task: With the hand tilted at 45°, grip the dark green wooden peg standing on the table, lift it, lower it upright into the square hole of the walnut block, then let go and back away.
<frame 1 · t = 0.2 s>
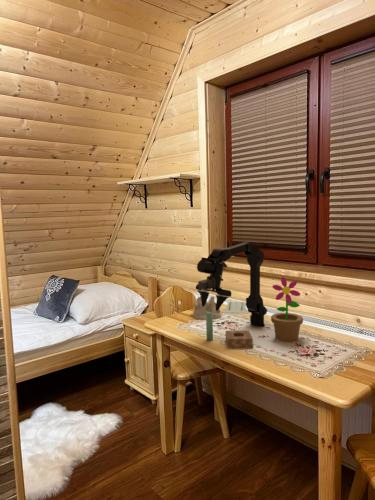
hand: (209, 308, 171), 15 cm above the table, tool tilted 15°, fingers open, 9 cm apart
flowerpot: (286, 338, 173), on the table
peg: (209, 339, 173), on the table
ceramic cottage: (206, 316, 212), on the table
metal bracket: (236, 311, 221), on the table
hole block: (238, 343, 168), on the table
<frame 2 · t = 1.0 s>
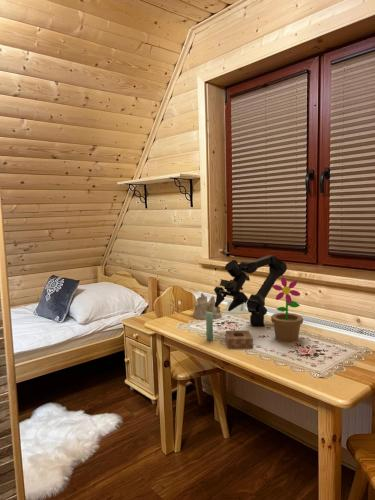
hand: (221, 308, 177), 13 cm above the table, tool tilted 45°, fingers open, 9 cm apart
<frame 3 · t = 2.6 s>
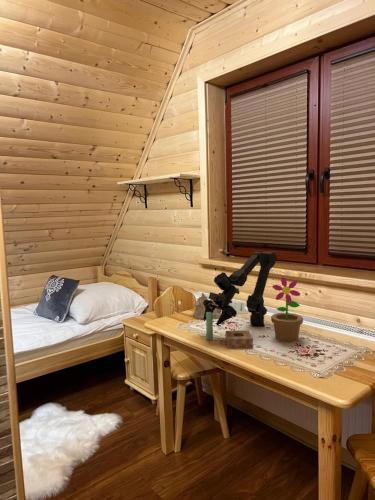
hand: (210, 322, 173), 8 cm above the table, tool tilted 45°, fingers open, 9 cm apart
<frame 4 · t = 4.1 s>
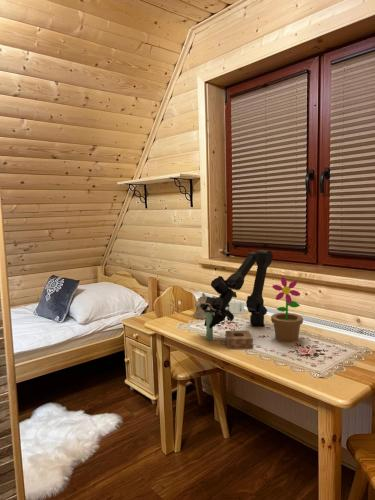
hand: (207, 326, 172), 7 cm above the table, tool tilted 45°, fingers closed on peg, 3 cm apart
peg: (209, 339, 173), on the table, touching gripper
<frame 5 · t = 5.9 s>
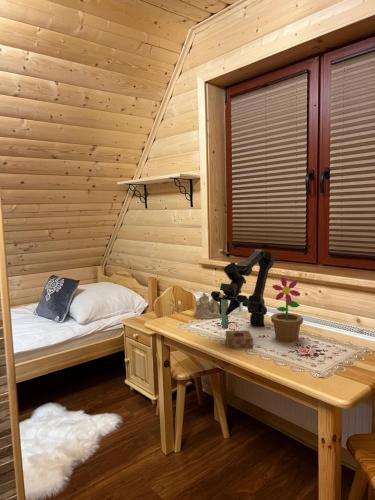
hand: (223, 314, 167), 13 cm above the table, tool tilted 45°, fingers closed on peg, 3 cm apart
peg: (224, 327, 169), point 7 cm above the table, touching gripper
when the fingers open (8 cm above the table, at t = 8.0 s): peg drops 1 cm, resting in hole block.
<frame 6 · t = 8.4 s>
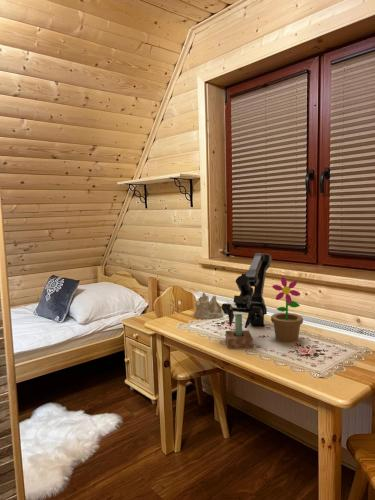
hand: (237, 326, 166), 8 cm above the table, tool tilted 45°, fingers open, 7 cm apart
peg: (238, 343, 168), resting in hole block
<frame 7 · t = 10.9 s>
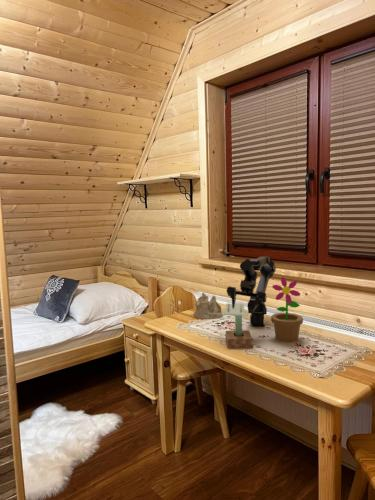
hand: (242, 310, 173), 14 cm above the table, tool tilted 40°, fingers open, 9 cm apart
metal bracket: (235, 313, 218), on the table
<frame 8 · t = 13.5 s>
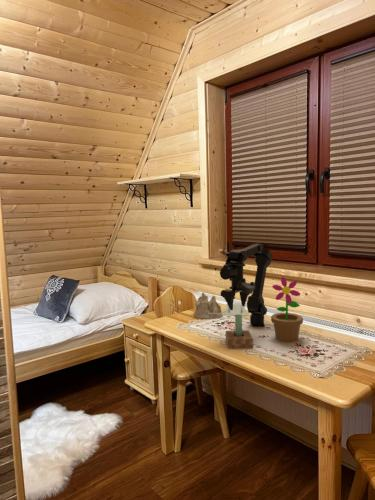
hand: (237, 308, 178), 13 cm above the table, tool pointing down, fingers open, 9 cm apart
at the end: peg 0.0 cm off-centre on the hole block, point 0.0 cm above the hole block's base; peg tilted 0°; the gripper is holding nothing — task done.
